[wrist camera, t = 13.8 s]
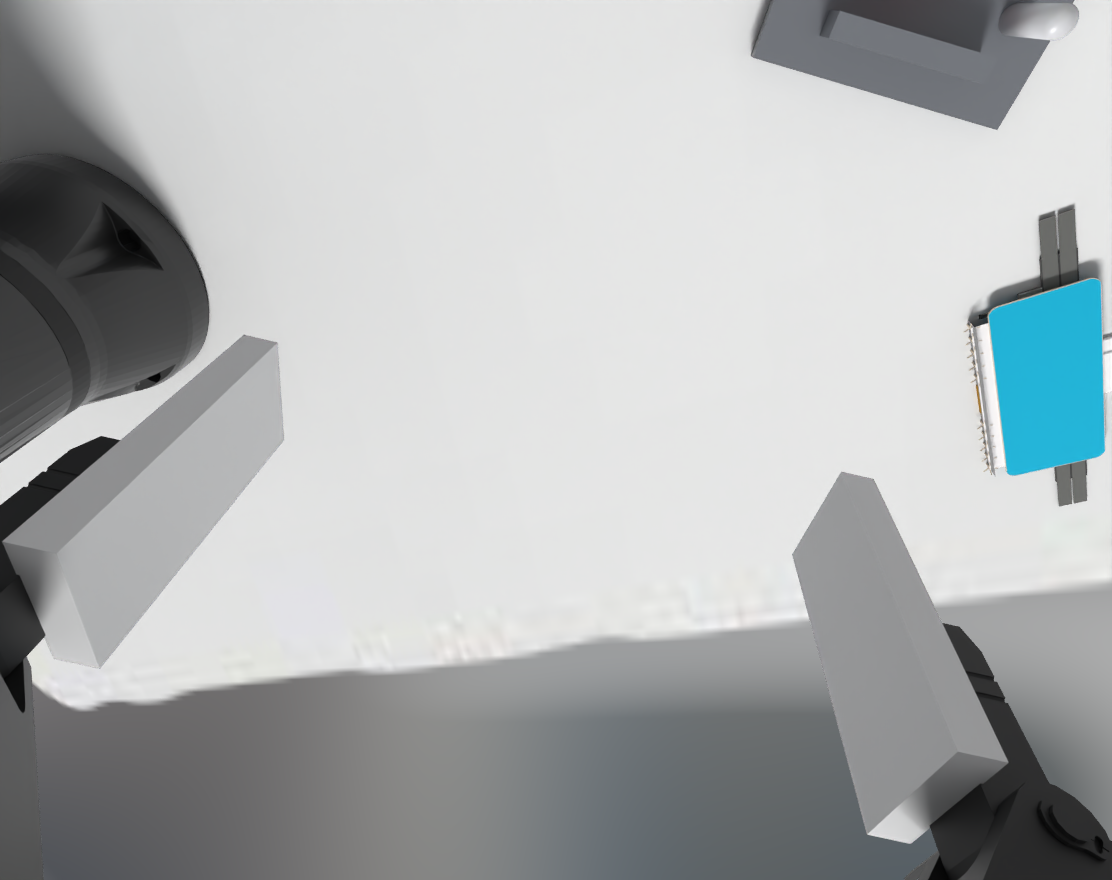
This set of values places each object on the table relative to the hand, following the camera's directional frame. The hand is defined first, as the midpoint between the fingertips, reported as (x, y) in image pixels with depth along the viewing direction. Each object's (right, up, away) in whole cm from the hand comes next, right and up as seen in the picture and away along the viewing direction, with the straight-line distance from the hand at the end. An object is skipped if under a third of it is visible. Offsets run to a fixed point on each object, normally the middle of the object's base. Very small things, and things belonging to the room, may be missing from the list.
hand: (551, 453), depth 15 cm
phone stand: (+31, +5, +23) cm, 38 cm away
